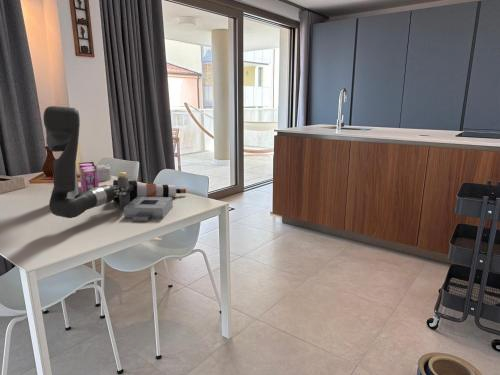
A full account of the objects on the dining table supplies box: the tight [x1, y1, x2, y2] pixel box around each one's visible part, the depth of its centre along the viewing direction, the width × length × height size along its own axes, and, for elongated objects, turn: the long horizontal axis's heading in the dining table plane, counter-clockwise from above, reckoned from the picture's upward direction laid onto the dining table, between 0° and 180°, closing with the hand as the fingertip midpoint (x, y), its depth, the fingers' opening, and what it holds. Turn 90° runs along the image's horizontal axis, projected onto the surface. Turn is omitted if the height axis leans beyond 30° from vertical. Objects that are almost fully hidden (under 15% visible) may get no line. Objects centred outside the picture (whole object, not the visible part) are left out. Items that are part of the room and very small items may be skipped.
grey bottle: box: [117, 171, 130, 210], centre depth 156 cm, size 4×4×16 cm
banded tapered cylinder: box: [112, 179, 187, 203], centre depth 171 cm, size 10×34×10 cm, turn 110°
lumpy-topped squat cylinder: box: [95, 163, 112, 182], centre depth 212 cm, size 10×13×9 cm
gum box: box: [77, 161, 100, 193], centre depth 184 cm, size 24×8×14 cm, turn 28°
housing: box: [123, 197, 174, 223], centre depth 151 cm, size 16×24×4 cm, turn 178°
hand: (127, 186), depth 158 cm, fingers closed on grey bottle, 4 cm apart
